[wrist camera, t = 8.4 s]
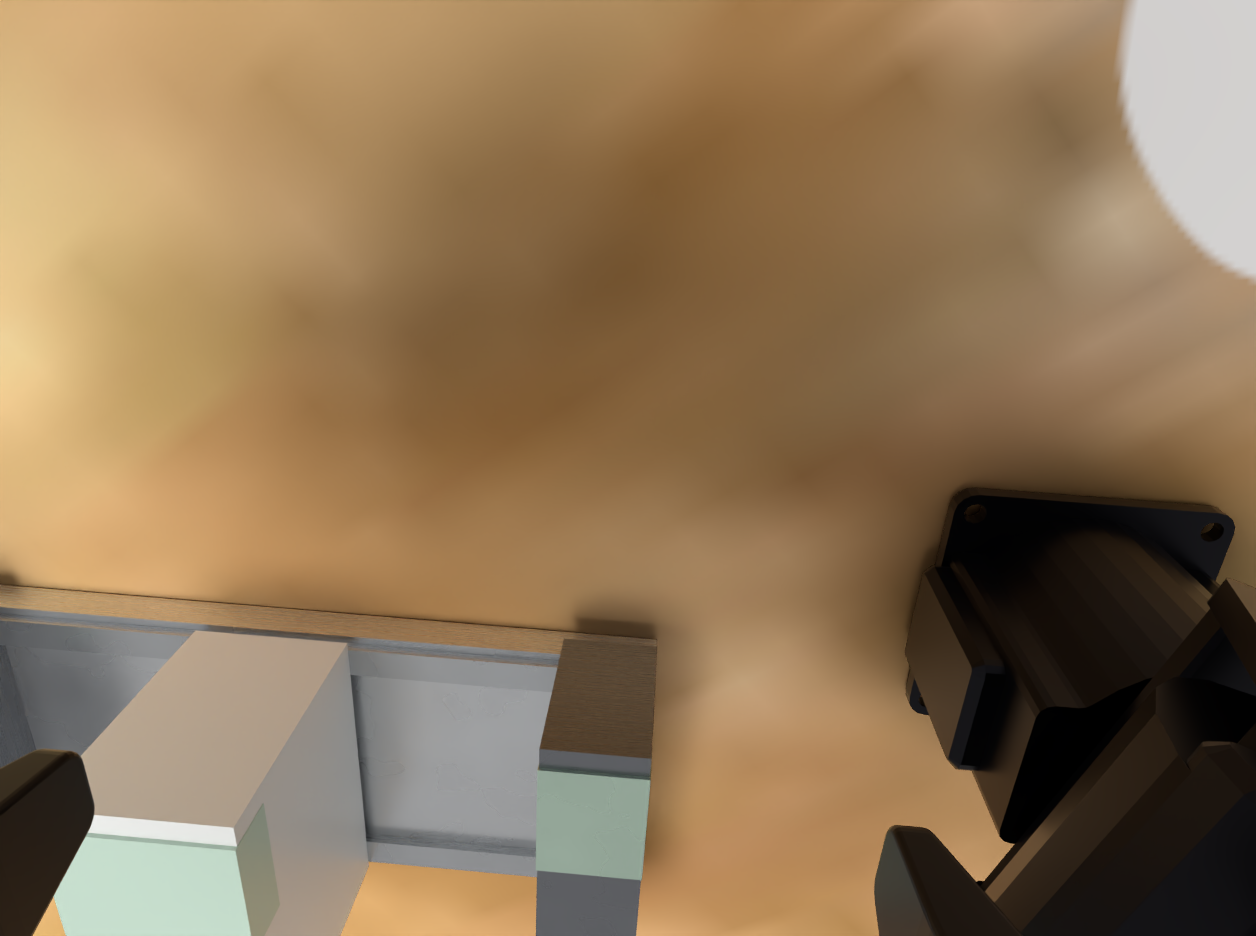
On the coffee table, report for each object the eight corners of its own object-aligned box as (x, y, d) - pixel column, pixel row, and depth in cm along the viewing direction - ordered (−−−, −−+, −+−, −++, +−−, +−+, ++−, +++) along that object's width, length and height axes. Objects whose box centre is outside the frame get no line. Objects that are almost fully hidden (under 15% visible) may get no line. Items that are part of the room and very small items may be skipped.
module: (348, 643, 22) (231, 834, 16) (369, 866, 25) (278, 1089, 19) (195, 630, 22) (25, 815, 16) (235, 853, 25) (106, 1071, 19)
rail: (658, 624, 22) (652, 762, 18) (637, 866, 26) (628, 1033, 21) (-70, 563, 23) (-260, 681, 18) (10, 808, 27) (-132, 958, 22)
